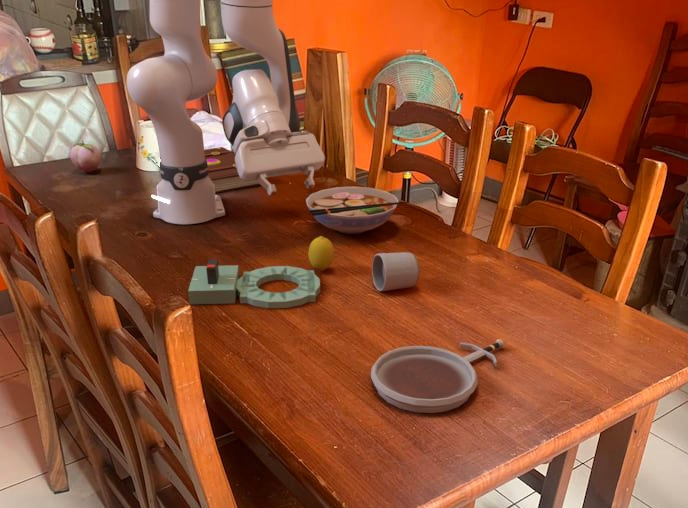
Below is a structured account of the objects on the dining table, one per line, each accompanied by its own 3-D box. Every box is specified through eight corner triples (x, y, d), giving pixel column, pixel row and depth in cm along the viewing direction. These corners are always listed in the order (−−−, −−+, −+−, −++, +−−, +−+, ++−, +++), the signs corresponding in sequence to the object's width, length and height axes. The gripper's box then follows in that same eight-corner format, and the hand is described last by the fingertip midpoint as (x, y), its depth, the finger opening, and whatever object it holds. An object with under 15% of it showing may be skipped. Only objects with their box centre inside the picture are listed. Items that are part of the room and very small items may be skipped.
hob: (240, 273, 146) (239, 266, 146) (318, 271, 147) (318, 265, 146) (233, 309, 132) (233, 302, 131) (321, 307, 132) (321, 300, 132)
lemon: (331, 277, 145) (331, 241, 140) (306, 275, 146) (305, 240, 141) (336, 266, 149) (336, 232, 145) (312, 265, 150) (311, 230, 146)
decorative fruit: (109, 170, 214) (104, 138, 209) (92, 177, 208) (86, 144, 202) (86, 167, 217) (80, 135, 212) (68, 174, 211) (61, 141, 206)
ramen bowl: (381, 209, 182) (382, 179, 177) (416, 239, 163) (418, 206, 159) (291, 219, 175) (290, 188, 171) (317, 252, 156) (316, 218, 152)
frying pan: (544, 355, 112) (424, 413, 97) (541, 369, 114) (422, 430, 99) (466, 317, 124) (348, 364, 109) (465, 331, 125) (348, 380, 110)
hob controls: (197, 279, 144) (195, 265, 142) (239, 278, 144) (238, 264, 143) (189, 304, 134) (187, 290, 132) (235, 303, 134) (233, 289, 132)
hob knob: (210, 274, 138) (208, 258, 137) (219, 274, 139) (217, 258, 137) (207, 284, 135) (206, 267, 133) (217, 283, 135) (215, 267, 133)
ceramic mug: (421, 291, 138) (423, 256, 134) (384, 297, 136) (385, 261, 132) (399, 272, 147) (401, 238, 143) (364, 277, 145) (365, 243, 141)
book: (224, 159, 224) (222, 144, 222) (267, 184, 201) (266, 167, 199) (158, 170, 214) (156, 154, 212) (196, 197, 191) (194, 179, 189)
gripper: (307, 137, 158) (328, 190, 156) (225, 148, 149) (246, 204, 147) (316, 121, 152) (338, 176, 150) (232, 132, 143) (254, 190, 141)
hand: (292, 190), depth 148 cm, fingers open, 8 cm apart
